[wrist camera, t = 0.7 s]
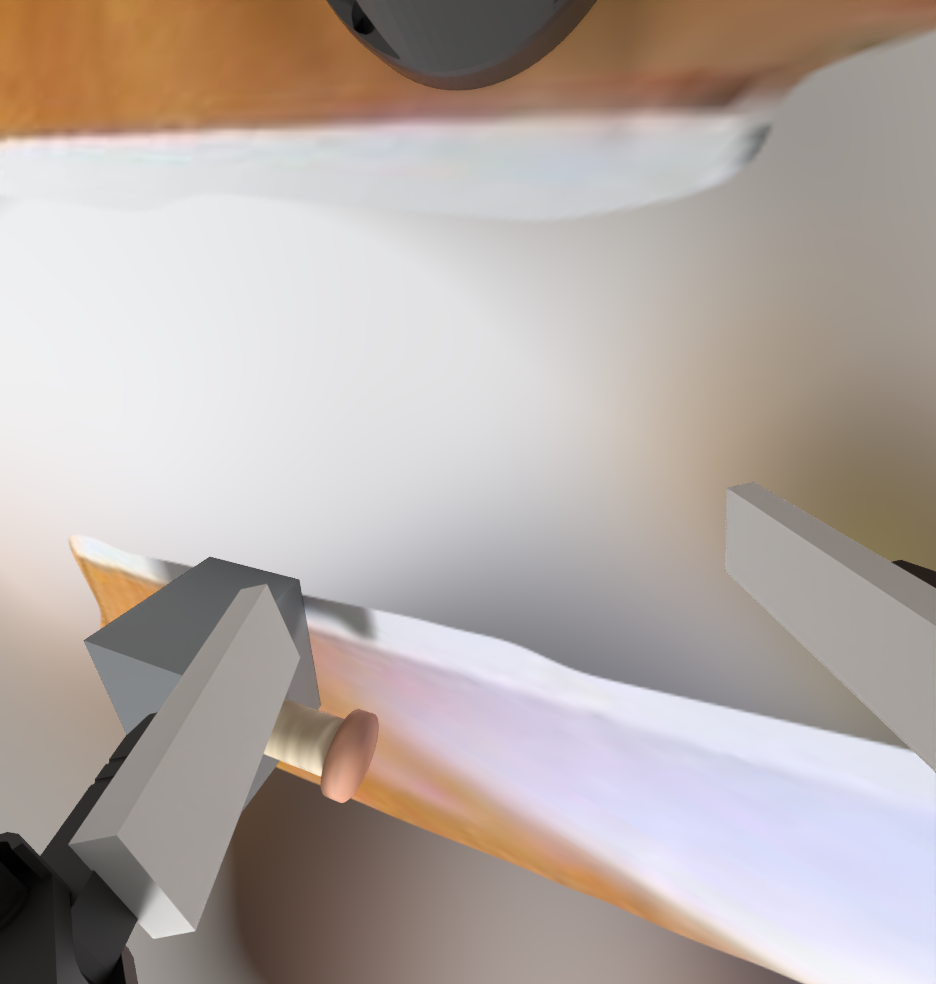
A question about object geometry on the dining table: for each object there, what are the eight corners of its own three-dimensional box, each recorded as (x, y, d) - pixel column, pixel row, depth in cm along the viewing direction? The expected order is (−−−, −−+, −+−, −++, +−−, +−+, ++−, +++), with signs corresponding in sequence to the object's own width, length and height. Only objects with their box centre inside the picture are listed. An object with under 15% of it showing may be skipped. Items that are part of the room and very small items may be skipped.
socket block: (242, 678, 51) (146, 777, 41) (209, 556, 43) (83, 640, 34) (325, 707, 48) (243, 820, 38) (305, 581, 40) (196, 680, 31)
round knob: (251, 701, 42) (197, 760, 37) (238, 652, 40) (178, 709, 34) (380, 747, 38) (340, 820, 33) (375, 696, 36) (331, 768, 31)
